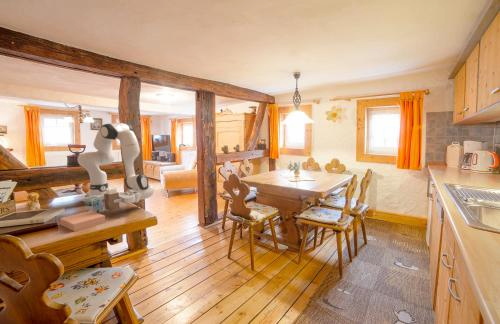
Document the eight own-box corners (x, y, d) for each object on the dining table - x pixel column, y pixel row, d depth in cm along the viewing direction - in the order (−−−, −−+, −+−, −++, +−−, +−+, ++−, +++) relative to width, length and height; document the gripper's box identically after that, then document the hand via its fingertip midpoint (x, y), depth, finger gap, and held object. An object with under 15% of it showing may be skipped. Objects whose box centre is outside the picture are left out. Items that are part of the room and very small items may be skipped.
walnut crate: (105, 208, 153) (103, 193, 152) (114, 206, 158) (113, 191, 157) (109, 210, 150) (108, 195, 149) (119, 208, 155) (118, 193, 154)
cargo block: (105, 193, 152) (105, 189, 152) (112, 192, 156) (112, 187, 155) (109, 194, 150) (109, 189, 149) (116, 193, 153) (116, 188, 153)
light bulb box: (93, 215, 154) (92, 199, 153) (84, 214, 156) (83, 198, 155) (106, 210, 165) (105, 195, 164) (98, 209, 166) (97, 194, 165)
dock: (60, 224, 138) (60, 218, 138) (91, 216, 152) (90, 210, 151) (74, 231, 128) (73, 224, 128) (105, 222, 142) (105, 215, 141)
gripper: (122, 189, 169) (101, 193, 158) (139, 193, 158) (118, 198, 147) (122, 197, 170) (102, 202, 158) (139, 202, 159) (119, 208, 147)
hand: (110, 200), depth 152 cm, fingers closed on walnut crate, 6 cm apart
